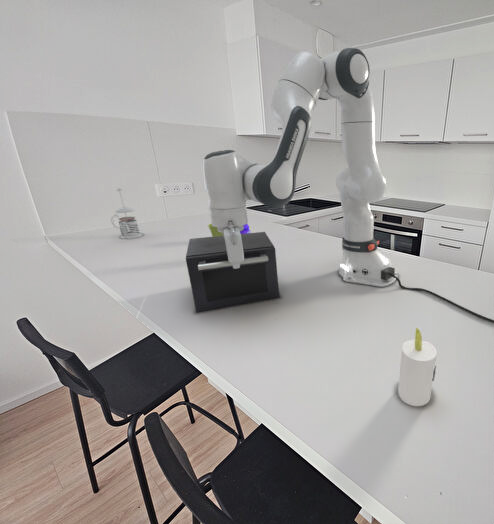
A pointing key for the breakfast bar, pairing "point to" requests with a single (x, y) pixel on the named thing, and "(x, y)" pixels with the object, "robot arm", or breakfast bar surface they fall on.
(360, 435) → the breakfast bar surface
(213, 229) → the plant pot
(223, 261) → the oven door
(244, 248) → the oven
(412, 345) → the candle
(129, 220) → the french press
